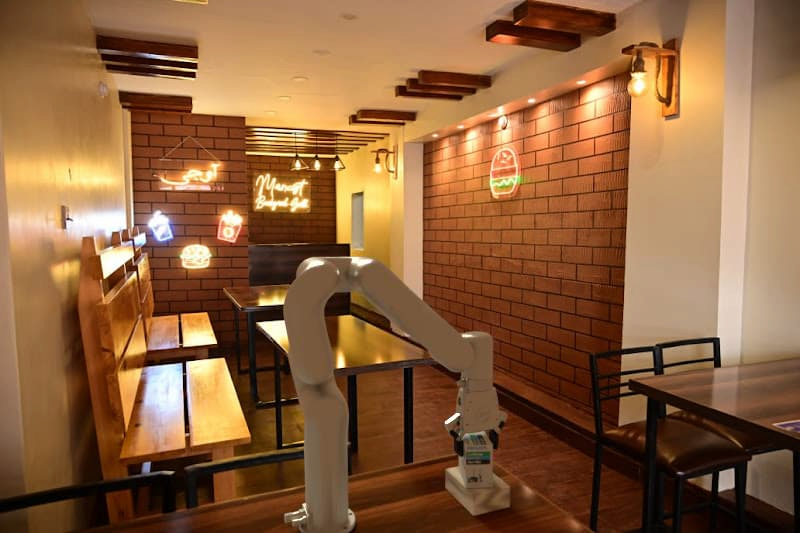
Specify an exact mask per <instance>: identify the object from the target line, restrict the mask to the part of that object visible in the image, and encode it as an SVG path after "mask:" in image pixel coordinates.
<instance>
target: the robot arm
mask: <svg viewBox="0 0 800 533" xmlns="http://www.w3.org/2000/svg"><path fill="white" fill-rule="evenodd" d="M295 277H296V278H294V280H293V282H292V283H291V284H290V286H289V288H288V290H287V292H286V295H285V297H284V301H283V308H282V309H283V310H282V311H283V312H282V313H283V321H284V326H285V331H286V335H287V339H288V340H287V342H288V345H289V348H288V352H287V356H288V364H289V367H290V372H291V375H292V379H293V384H294V388H295V391H296V395H297V399H298V403H299V406H300V409H301V412H302V415H303V422H304V431H303V432H304V436H303V440H304V441H303V453H304V454H303V455H304V456H303V457H304V458H303V459H304V486H305V488H304V492H305V493H304V494H305V499H304V500H305V502H304V503H302V506H301V508H300V509H299V508H298V510H296V511H292V512H287V513H284V515H283V518H284V523H285V524H287V523H291V526H292V527H297V526H298V528H299V531H300V533H350V532H351V531H352V530H353V529H354V527H355V525H356V515H355V513H354V511H353V510H351V509H350V508H349V472H348V471H349V470H348V468H349V466H348V463H349V462H348V461H349V460H348V430H349V421H350V420H349V419H350V414H349V413H350V411H349V406H348V403H347V400H346V398H345V397H344V394H343V393H342V392H341V390H340V389H339V387H338V385H337V382H336V381H337V380H336V379H335V378H336V377H335V372H334V370H335V364H336V361H335V356H334V355H335V354H334V352H333V348H332V347H331V346H332V345H331V341H330V338H329V335H328V330H327V324H326V319H325V318H326V317H325V307H326V304H327V303H328V300H329V299H330V298H331V297H332V296H333V295H334V294H335V293H350V292H351V293H353V292H358V293H359V294H360V295H361V296H362V297H363V298H364V299H366V300H367V301H368V302H369V304H371V305H372V306H373V307H375V308H376V310H377V311H379V312H380V313H381V314H382V315H383V316H384V317H385V318H386V319H387V320H388V321H390V322H391V323H392V325H394V326H395V327H396V328H398V329H399V330H400V331H401V332H403V333H404V334H406V335H407V336H409V337H410V338H412V339H414V341H417V342H418V343H419V344H421V346H422V347H424V348H425V349H426V350H427V352H428V354H429V356H430V357H431V358H432V359H433V360H434V361H435V362H436V363H439V365H441V366H443V367H444V368H446V369H448V370H449V371H451V372H452V373H453V372H454V373H461V376H460V380H457V381H456V385H457V387H460V388H459V389H458V391H457V392H458V393H457V397H456V405H455V414H454V415H453V416H451V417H450V418H449V419H447V420H445V422H444V423H443V425H444V427H445V429H446V431H447V433H448V434H449V435H450V436H451V437H453V451H454V453H455V454H456V455H457V456H458V457H459V456H460V457H463V455H464V442H463V440H461V439H462V438H463V436H464V435H465V433H468V434H470V433H476V432H482V431H485V432H487V431H488V438H489V439H490V441H491V442H492V444H493V450H495V451H497V450H498V449H499V442H500V441H499V440H500V439H499V437H500V434H501V432H502V429H503V428H504V426H505V424H506V421H507V419H508V417H509V415H508V414H509V413H507V412H505V411H504V410H500V407H499V400H498V399H499V398H498V393H497V388H496V387H495V386H493V384H494V383H493V382H494V380H493V377H494V375H493V374H494V373H493V372H494V370H493V368H494V367H493V366H494V338H493V336H492V335H491V334H490V333H488V332H485V331H480V330H479V331H477V330H476V331H474V330H473V331H468V332H467V331H466V332H458V331H457V329H455V328H454V327H453V326H452V325H451V324H450V323H449V322H448V321H447V320H445V319H444V318H443V317H442V316H441V315H439V314H438V313H437V312H436V311H435V310H434V309H433V308H432V307H431V306H429V304H428V303H426V302H425V300H423V299H421V297H419V296H418V295H417V294H416V293H415V292H414V291H413V290H412V289H411V288H410V287H409V286H407V284H406V283H404V282H403V281H402V280H401V278H399V276H398V275H397V274H395V273H394V271H392V270H391V269H390V268H389V267H388V266H387V265H386V264H384V263H383V262H382V261H381V260H378V259H376V258H374V257H368V256H332V257H331V256H312V257H309V258H307V259H304V260H303V261H302V262H301V263H300V264H299V265H298V267H297V270H296V274H295ZM453 425H455V426H456V427H455V429H454V428H453Z"/></svg>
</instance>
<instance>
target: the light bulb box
mask: <svg viewBox="0 0 800 533" xmlns="http://www.w3.org/2000/svg"><path fill="white" fill-rule="evenodd" d="M461 440H463V442H464V455H463V457H460V456H459V455H458V466H459V471H460V473H461V476H462V479H463V481H464V484H465V487H466V488H492V487H493V473H494V472H493V471H494V469H493V466H494V462H493V461H494V460H493V459H494V458H493V457H494V449H493V444H492V442H491V441H490V439H489V435H487V432H486V431H482V432H476V433H470V434H468V433H465V435H464V436H463V438H462V439H461Z"/></svg>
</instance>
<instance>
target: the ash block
mask: <svg viewBox="0 0 800 533" xmlns="http://www.w3.org/2000/svg"><path fill="white" fill-rule="evenodd" d="M444 475H445V489H446V490H447V491H448V492H449V493H450V494H451V495H452V497H453V498H455V499H456V500H457V501H458V503H460V504H461V505H462V506H463V507H464V508H465V509H466V510H467V511H468V512H469V514H471V515H472V516H473V517H475V516H478V515H482V514H487V513H491V512H495V511H499V510H502V509H507V508H511V507H510V506H511V486H510V485H509V484H508V483H507V482H505V481H504V480H503V479H502V478H500V477H499V476H497V475H496V474H495V472H493V487H492V488H466V487H465V484H464V481H463V479H462V476H461V473H460V471H459V465H458V466H453V467H449V468H445V474H444Z"/></svg>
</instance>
